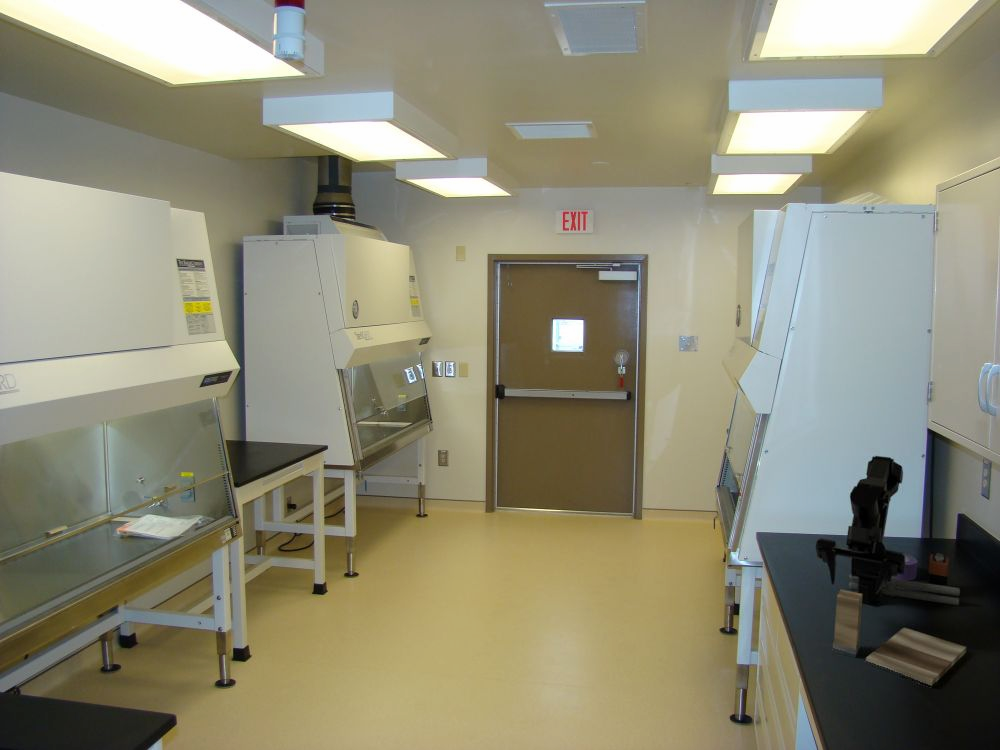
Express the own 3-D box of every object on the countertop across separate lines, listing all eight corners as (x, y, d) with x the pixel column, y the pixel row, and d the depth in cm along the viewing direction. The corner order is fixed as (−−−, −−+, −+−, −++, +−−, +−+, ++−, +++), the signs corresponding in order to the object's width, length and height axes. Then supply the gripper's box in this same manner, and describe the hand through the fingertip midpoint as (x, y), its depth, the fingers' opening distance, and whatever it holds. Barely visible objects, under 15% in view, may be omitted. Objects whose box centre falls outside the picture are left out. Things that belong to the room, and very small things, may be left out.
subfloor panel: (903, 633, 178) (904, 627, 178) (965, 653, 169) (966, 647, 168) (865, 664, 163) (866, 657, 163) (931, 687, 154) (932, 680, 154)
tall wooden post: (836, 643, 173) (839, 589, 171) (859, 649, 170) (863, 593, 168) (832, 651, 169) (836, 596, 167) (855, 657, 166) (860, 601, 164)
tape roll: (905, 567, 222) (906, 550, 221) (923, 582, 210) (924, 565, 209) (863, 565, 223) (864, 549, 222) (879, 580, 211) (880, 563, 211)
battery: (927, 593, 202) (929, 557, 201) (927, 585, 208) (930, 550, 206) (945, 597, 200) (948, 561, 198) (946, 589, 205) (949, 553, 204)
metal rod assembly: (957, 604, 196) (958, 585, 195) (958, 608, 194) (960, 589, 193) (848, 587, 206) (849, 569, 205) (848, 591, 203) (849, 573, 203)
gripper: (819, 505, 181) (807, 563, 173) (907, 519, 171) (898, 581, 163) (823, 528, 188) (812, 585, 180) (908, 543, 178) (900, 604, 170)
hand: (854, 588), depth 173 cm, fingers open, 9 cm apart
